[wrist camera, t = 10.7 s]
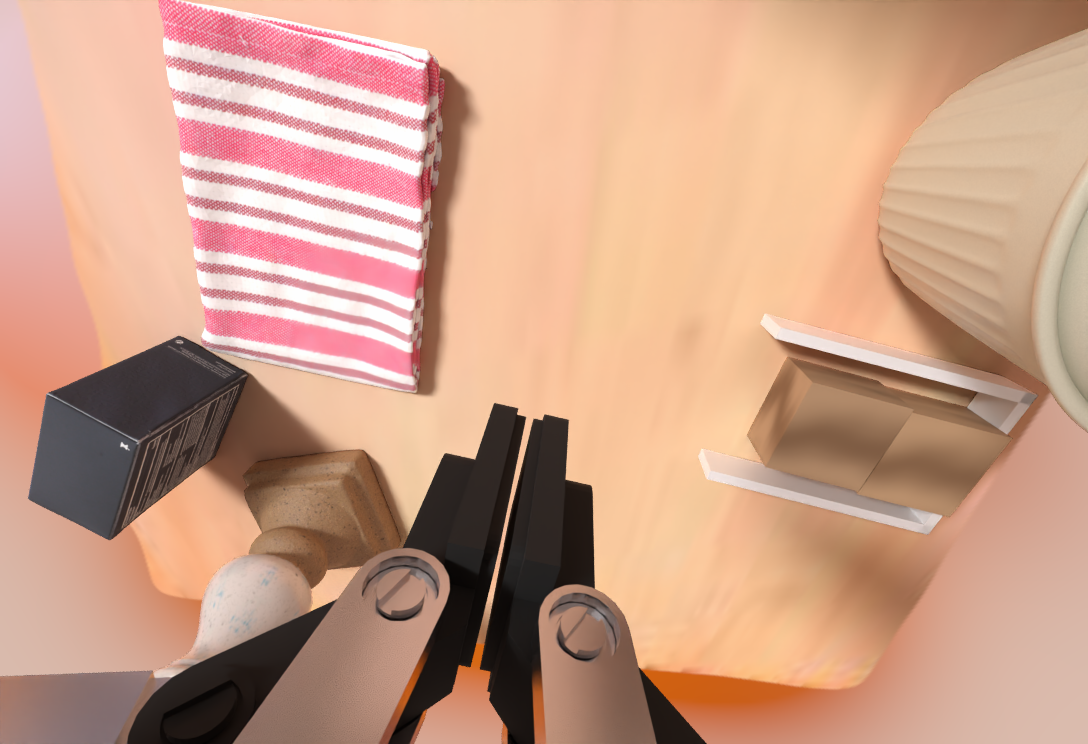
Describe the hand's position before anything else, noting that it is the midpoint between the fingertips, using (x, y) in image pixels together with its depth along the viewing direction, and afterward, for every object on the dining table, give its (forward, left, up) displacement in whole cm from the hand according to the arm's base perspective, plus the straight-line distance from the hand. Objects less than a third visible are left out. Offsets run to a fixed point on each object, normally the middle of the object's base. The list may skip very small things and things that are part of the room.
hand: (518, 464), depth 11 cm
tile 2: (+7, +28, -25) cm, 38 cm away
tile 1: (+7, +21, -25) cm, 33 cm away
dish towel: (+2, -17, -25) cm, 31 cm away
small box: (+20, -27, -25) cm, 42 cm away
